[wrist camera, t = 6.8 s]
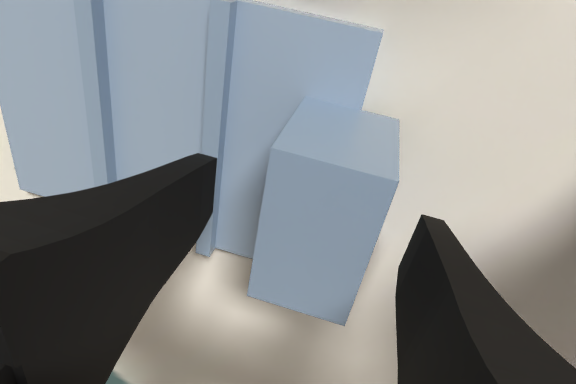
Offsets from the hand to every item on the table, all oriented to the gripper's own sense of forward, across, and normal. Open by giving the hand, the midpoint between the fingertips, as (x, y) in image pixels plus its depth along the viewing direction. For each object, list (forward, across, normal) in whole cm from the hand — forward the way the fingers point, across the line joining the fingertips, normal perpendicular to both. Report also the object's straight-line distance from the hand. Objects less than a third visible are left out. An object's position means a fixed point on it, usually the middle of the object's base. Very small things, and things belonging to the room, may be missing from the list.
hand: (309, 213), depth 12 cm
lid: (+3, +6, 0) cm, 7 cm away
